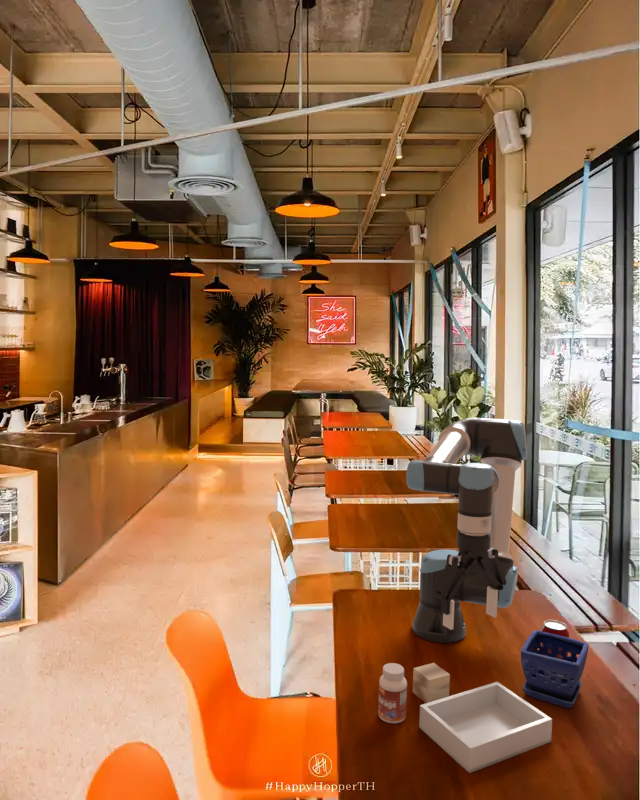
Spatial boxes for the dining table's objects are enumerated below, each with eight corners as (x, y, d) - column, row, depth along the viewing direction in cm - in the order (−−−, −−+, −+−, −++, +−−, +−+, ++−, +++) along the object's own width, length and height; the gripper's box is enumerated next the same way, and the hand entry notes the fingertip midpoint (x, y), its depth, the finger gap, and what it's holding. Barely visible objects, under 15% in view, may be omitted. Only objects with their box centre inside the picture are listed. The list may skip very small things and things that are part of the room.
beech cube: (412, 692, 146) (413, 668, 146) (432, 686, 149) (433, 662, 148) (428, 705, 141) (429, 680, 140) (448, 699, 143) (449, 674, 143)
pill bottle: (372, 716, 136) (373, 668, 135) (387, 704, 140) (389, 658, 140) (396, 728, 132) (397, 678, 131) (411, 715, 136) (412, 667, 136)
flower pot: (577, 716, 137) (580, 665, 136) (517, 698, 144) (519, 649, 143) (587, 689, 149) (589, 642, 148) (530, 673, 156) (532, 628, 155)
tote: (419, 727, 132) (420, 705, 132) (496, 702, 142) (497, 681, 142) (469, 773, 118) (470, 748, 118) (551, 741, 128) (552, 719, 128)
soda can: (569, 678, 154) (571, 631, 153) (541, 674, 155) (543, 628, 154) (564, 664, 160) (566, 620, 159) (537, 661, 162) (539, 617, 161)
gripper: (443, 543, 131) (440, 639, 133) (524, 528, 144) (520, 616, 145) (421, 534, 138) (417, 625, 139) (500, 520, 150) (496, 604, 152)
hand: (470, 621), depth 142 cm, fingers open, 13 cm apart
